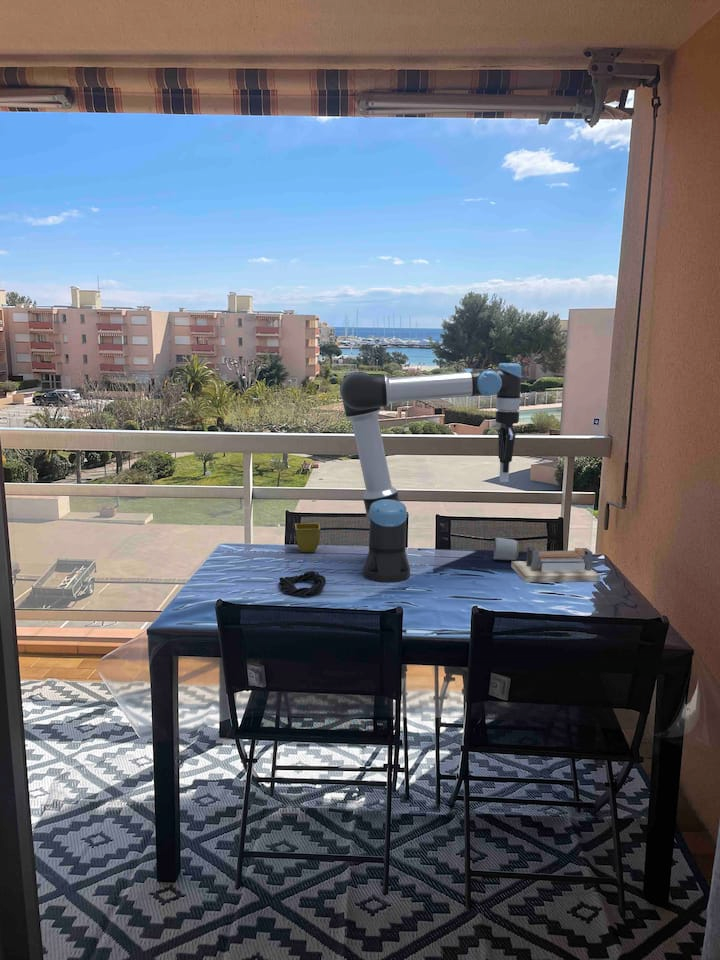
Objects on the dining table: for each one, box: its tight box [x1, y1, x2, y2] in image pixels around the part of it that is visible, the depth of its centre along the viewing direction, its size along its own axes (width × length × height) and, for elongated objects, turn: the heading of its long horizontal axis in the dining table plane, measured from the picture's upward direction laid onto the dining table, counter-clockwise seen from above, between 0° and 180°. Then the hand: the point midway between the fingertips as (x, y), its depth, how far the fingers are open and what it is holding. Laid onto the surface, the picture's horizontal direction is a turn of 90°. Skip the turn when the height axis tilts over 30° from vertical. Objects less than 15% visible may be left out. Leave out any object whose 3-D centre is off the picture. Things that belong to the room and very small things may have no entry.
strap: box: [530, 547, 585, 557], centre depth 243 cm, size 17×4×2 cm, turn 95°
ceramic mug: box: [493, 537, 520, 562], centre depth 261 cm, size 11×8×8 cm
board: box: [510, 560, 601, 583], centre depth 245 cm, size 24×16×2 cm, turn 95°
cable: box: [278, 570, 327, 598], centre depth 225 cm, size 17×14×4 cm
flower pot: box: [294, 522, 321, 553], centre depth 266 cm, size 9×9×9 cm
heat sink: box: [525, 545, 593, 573], centre depth 244 cm, size 20×11×6 cm, turn 94°
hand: (503, 481), depth 250 cm, fingers closed
